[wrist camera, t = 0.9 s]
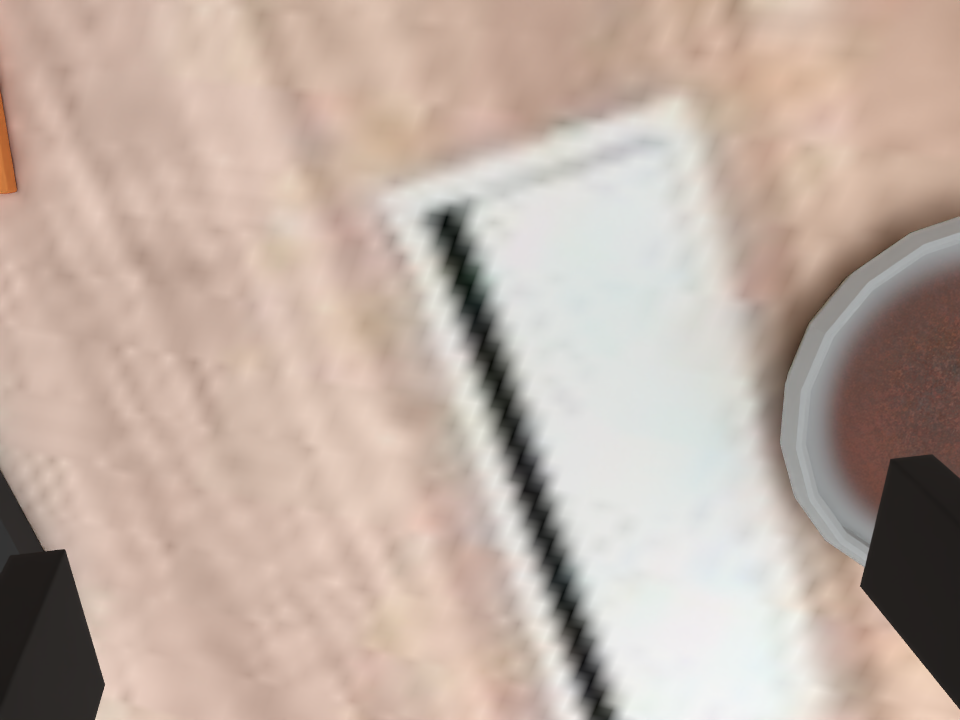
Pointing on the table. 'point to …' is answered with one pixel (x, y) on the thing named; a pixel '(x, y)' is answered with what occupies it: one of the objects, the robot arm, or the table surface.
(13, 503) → the smart home device
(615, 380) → the table surface
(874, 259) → the frying pan
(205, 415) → the table surface
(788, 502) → the table surface
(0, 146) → the orange flat block
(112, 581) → the table surface
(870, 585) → the robot arm
